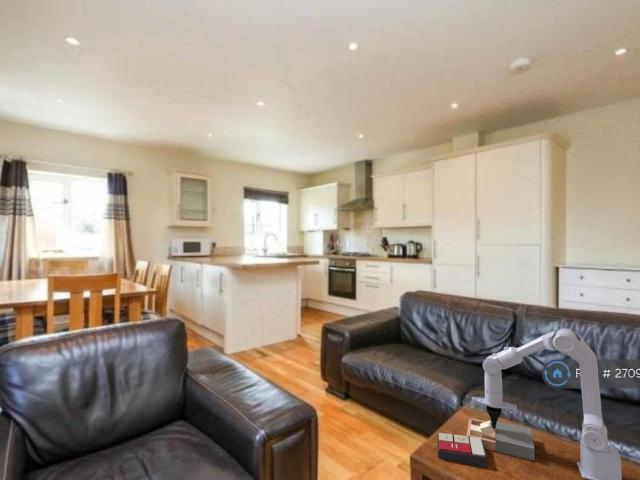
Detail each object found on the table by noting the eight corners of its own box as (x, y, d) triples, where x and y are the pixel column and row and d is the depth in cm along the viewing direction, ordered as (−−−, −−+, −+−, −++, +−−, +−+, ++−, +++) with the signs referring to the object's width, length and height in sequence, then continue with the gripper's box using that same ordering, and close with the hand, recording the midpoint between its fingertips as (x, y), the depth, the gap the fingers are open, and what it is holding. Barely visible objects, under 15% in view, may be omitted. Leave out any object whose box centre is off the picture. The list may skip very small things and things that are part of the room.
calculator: (437, 431, 121) (482, 436, 116) (437, 443, 121) (483, 448, 116) (437, 448, 111) (486, 454, 106) (438, 461, 111) (487, 468, 106)
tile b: (471, 424, 126) (471, 430, 126) (470, 429, 122) (470, 436, 122) (482, 426, 124) (482, 433, 124) (482, 432, 121) (482, 439, 121)
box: (495, 431, 127) (495, 423, 127) (495, 451, 114) (495, 442, 114) (469, 425, 131) (469, 417, 131) (466, 444, 119) (466, 435, 119)
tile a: (494, 427, 122) (490, 420, 123) (494, 432, 118) (490, 425, 119) (484, 430, 123) (480, 423, 124) (484, 435, 120) (480, 428, 121)
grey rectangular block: (530, 439, 121) (530, 428, 122) (534, 461, 109) (534, 448, 109) (495, 431, 127) (495, 420, 127) (496, 451, 114) (495, 439, 114)
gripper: (515, 389, 121) (516, 426, 121) (472, 382, 128) (472, 417, 128) (516, 397, 115) (517, 436, 115) (471, 389, 122) (471, 426, 121)
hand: (494, 427), depth 121 cm, fingers closed, pressing on tile a
